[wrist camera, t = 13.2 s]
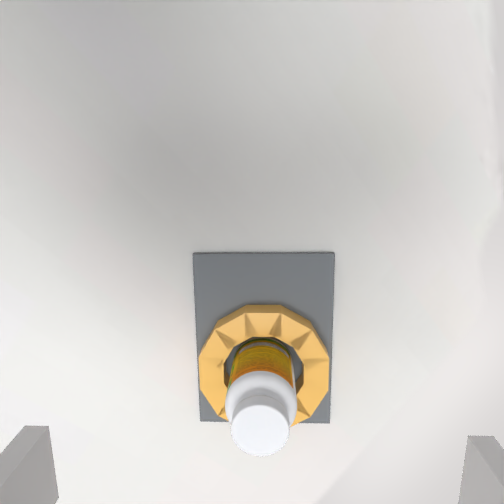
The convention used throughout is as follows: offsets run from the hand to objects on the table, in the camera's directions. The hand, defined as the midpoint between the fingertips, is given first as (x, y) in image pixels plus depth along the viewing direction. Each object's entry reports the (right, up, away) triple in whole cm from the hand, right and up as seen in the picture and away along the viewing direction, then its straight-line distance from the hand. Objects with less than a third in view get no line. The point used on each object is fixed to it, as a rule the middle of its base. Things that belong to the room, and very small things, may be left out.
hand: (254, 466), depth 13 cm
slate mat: (+1, -1, +24) cm, 24 cm away
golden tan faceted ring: (+1, -3, +24) cm, 25 cm away
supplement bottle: (+1, -3, +25) cm, 25 cm away
